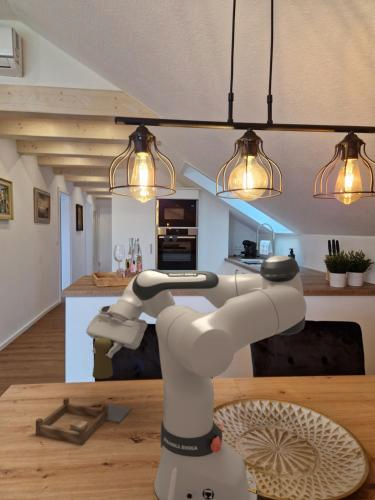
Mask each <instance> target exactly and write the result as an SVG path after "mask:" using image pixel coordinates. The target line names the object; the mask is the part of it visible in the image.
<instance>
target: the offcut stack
mask: <svg viewBox="0 0 375 500" xmlns="http://www.w3.org/2000/svg"><path fill="white" fill-rule="evenodd" d="M88 426H89V425H88V421H85V420H81V419H75V420H74V421H72V422H71V423H70V424H69V428H68V430H73V431H77V432H79V429H80V428H81V427H86V428H87V427H88Z"/></svg>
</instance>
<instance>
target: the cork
mask: <svg viewBox="0 0 375 500" xmlns="http://www.w3.org/2000/svg"><path fill="white" fill-rule="evenodd" d="M112 347H113V344H112V343H111V340H110V339H108V338H98V339H95V340H94V341H93V348H94V349H95V350H96V353H94V359H93V360H94V362H93V369H92V377H93V378H94V379H98V380H103V379H109V378H111V377H112V376H113V374H114V370H113V363H112V358H108V357H106V356H105V353H106V351H107V350H110V349H111V348H112Z"/></svg>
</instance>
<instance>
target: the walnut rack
mask: <svg viewBox="0 0 375 500" xmlns="http://www.w3.org/2000/svg"><path fill="white" fill-rule="evenodd" d="M62 403H63V404H61V405H60V407H58V408H56V409H55V410H54V411H53V412H52V413H51V414H50V415H48V416H46V417H45V418H44V419H43V418H39V417H38V418H37V419H36V420H35V435H37V436H40V437H46V438H50V439H55V440H60V441H65V442H68V443H69V442H70V443H74V444H79V445H80V446H81V445H82V446H84V444H86V442H87V441H88V440H89V439H90V437H91V436H92V435H94V434H95V432H96V431H97V430H98V429H99V428H100V427H101V426H102V425H103V424H104V422H106V421H105V418H107V417H108V404H103V405H102V408H99V407H92V406H87V405H82V404H76V403H70V398H69V397H64V398H63V399H62ZM65 414H73V415H78V416H83V417H89V418H93V419H94V420H93V421H92V422H90V423H89V425H88V426H87V428H86V427H81V428H80V429H79V432H77V431H73V430H69V428H68V429H66V428H61V427H57V426H53V424H55V423H56V422H57V421H58V420H60V419H61V418H62V417H63V416H64V415H65ZM96 416H98V417H97V418H96V419H95V417H96Z"/></svg>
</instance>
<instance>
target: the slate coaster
mask: <svg viewBox="0 0 375 500" xmlns="http://www.w3.org/2000/svg"><path fill="white" fill-rule="evenodd" d="M107 405H108V417H107V418H105V421H104V422H109V423H115V424H119V425H120V424H121V423H122V422H123V420H124V419H125V418H126V416H127V415H128V414H129V413H130V412H131V411H132V407H129V406H128V407H127V406H123V405H122V406H121V405H116V404H110V403H108V404H107ZM97 417H98V416H96V417H95V418H94V420H95V419H96V418H97Z"/></svg>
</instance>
